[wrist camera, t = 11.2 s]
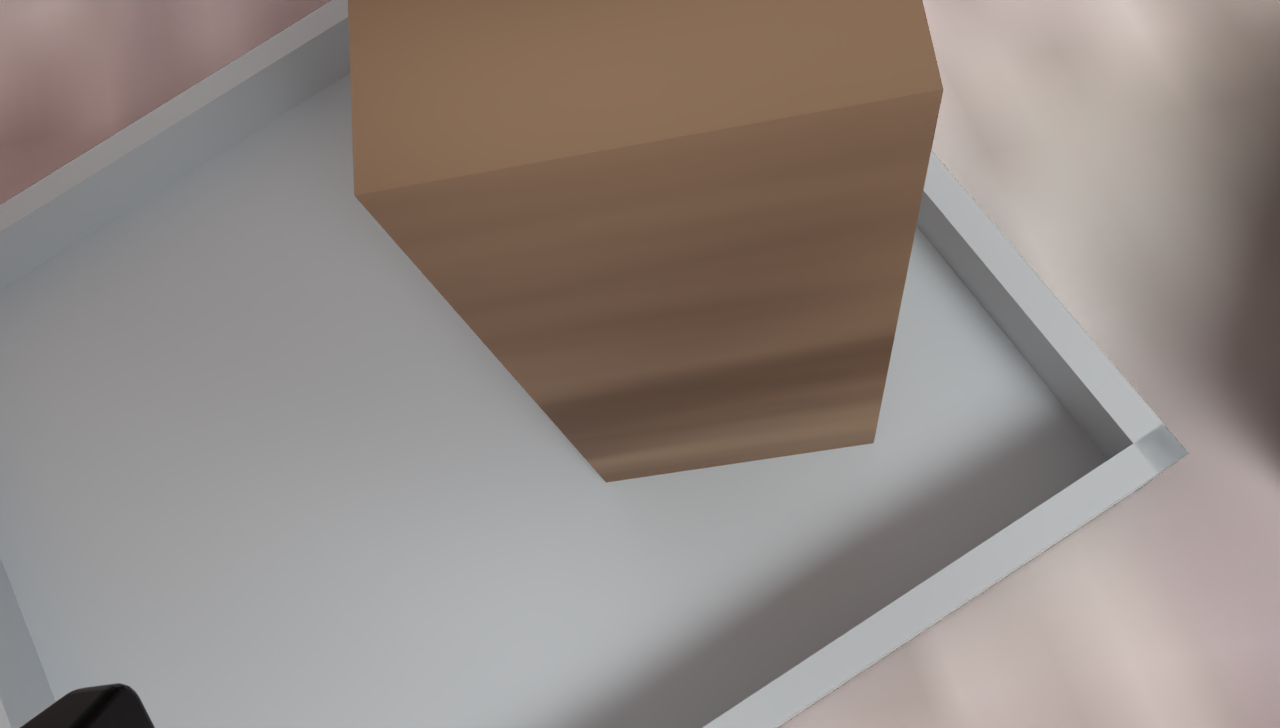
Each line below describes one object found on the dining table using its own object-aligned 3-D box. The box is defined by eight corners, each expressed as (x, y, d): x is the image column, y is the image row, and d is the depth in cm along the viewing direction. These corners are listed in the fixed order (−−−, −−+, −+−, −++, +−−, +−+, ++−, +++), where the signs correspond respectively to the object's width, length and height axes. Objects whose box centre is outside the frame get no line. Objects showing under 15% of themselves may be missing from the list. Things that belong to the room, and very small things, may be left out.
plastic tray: (209, 1103, 19) (126, 1156, 17) (-80, 349, 25) (-172, 310, 23) (1146, 484, 20) (1188, 453, 18) (658, -109, 26) (642, -192, 24)
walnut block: (873, 443, 20) (942, 89, 9) (605, 482, 21) (354, 196, 10) (827, 199, 22) (837, -360, 11) (580, 241, 22) (339, -248, 11)
